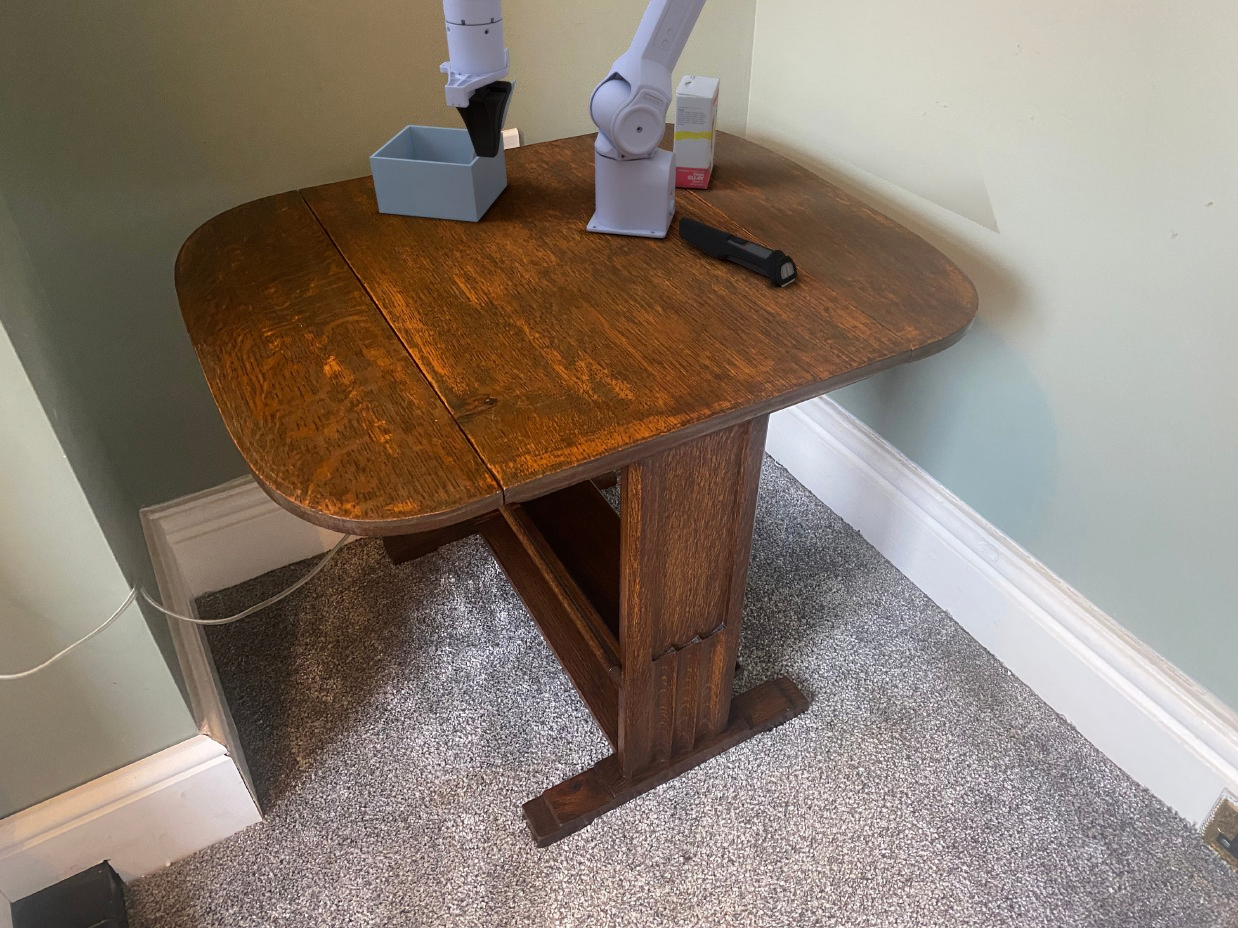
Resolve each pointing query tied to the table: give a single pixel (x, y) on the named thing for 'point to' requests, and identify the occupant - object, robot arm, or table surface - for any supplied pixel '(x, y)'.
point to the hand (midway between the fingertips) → (487, 155)
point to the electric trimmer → (739, 251)
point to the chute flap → (503, 115)
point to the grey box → (436, 175)
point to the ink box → (695, 130)
